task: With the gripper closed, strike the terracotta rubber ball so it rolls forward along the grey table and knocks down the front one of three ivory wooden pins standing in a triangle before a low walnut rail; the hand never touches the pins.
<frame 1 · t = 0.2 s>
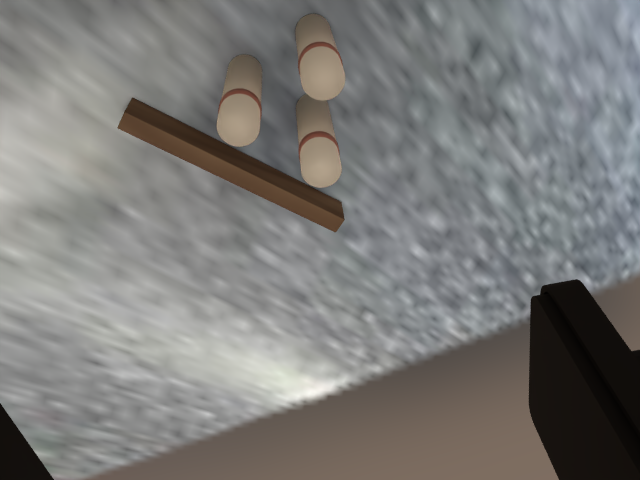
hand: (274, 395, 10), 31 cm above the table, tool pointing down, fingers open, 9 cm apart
walnut rail: (239, 160, 42), on the table
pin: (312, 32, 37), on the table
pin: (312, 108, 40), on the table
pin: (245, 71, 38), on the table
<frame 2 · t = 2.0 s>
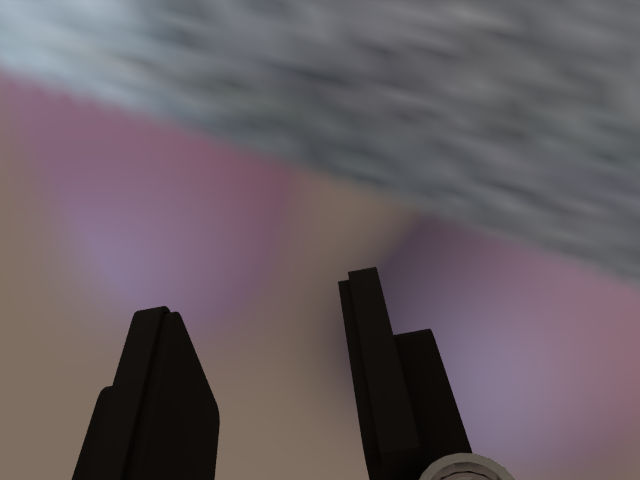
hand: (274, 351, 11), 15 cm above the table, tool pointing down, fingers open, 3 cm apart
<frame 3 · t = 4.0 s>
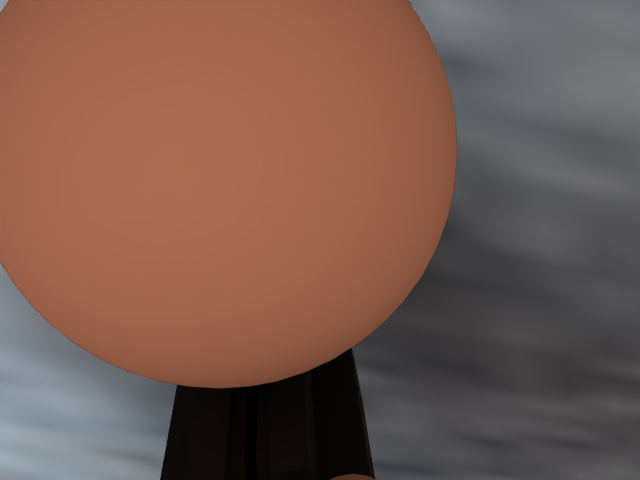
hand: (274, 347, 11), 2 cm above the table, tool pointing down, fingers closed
ball: (227, 156, 8), on the table, touching gripper
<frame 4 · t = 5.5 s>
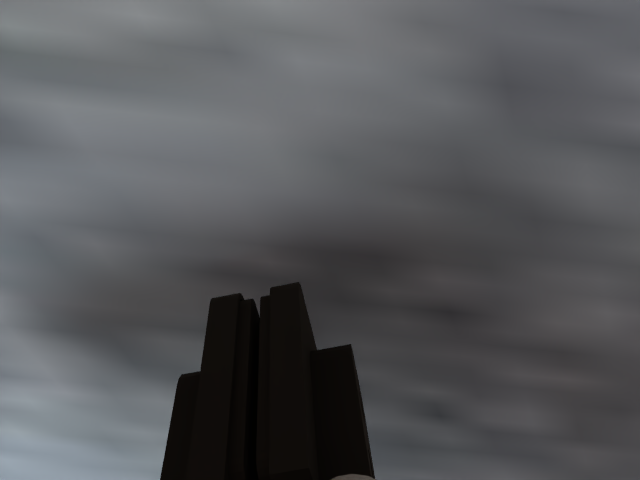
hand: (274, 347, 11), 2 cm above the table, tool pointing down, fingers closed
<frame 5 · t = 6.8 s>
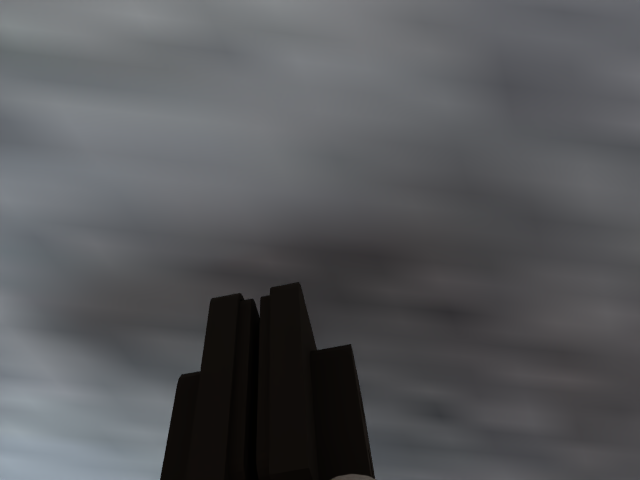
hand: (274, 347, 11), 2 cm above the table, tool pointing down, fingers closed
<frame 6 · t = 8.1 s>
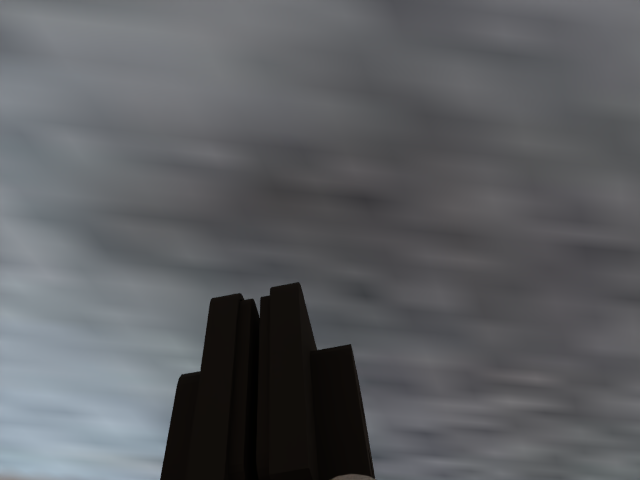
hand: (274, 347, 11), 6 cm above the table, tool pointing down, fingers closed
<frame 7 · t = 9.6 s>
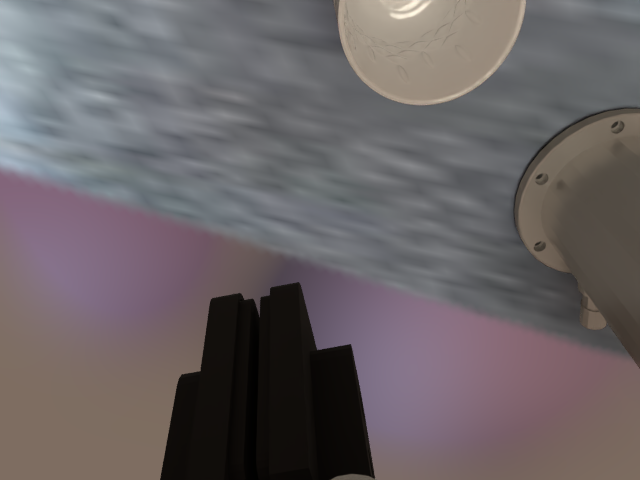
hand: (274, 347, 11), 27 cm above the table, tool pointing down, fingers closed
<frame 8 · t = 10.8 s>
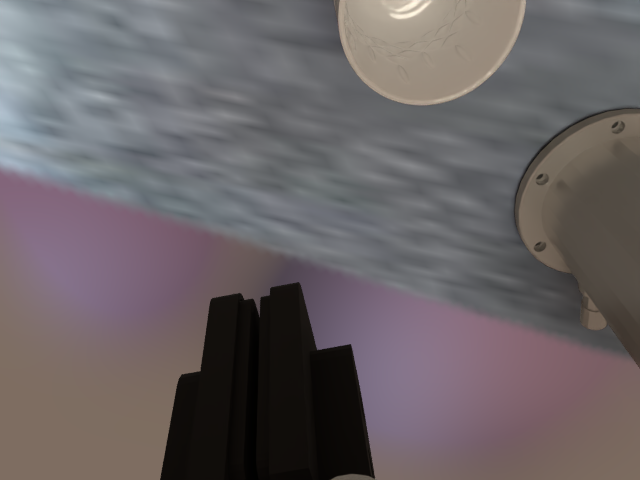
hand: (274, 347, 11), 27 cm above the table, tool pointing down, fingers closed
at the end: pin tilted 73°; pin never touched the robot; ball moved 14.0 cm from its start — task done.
